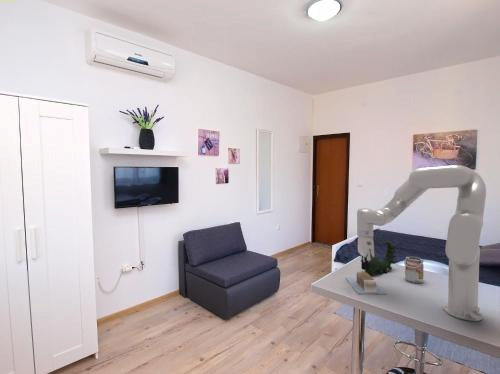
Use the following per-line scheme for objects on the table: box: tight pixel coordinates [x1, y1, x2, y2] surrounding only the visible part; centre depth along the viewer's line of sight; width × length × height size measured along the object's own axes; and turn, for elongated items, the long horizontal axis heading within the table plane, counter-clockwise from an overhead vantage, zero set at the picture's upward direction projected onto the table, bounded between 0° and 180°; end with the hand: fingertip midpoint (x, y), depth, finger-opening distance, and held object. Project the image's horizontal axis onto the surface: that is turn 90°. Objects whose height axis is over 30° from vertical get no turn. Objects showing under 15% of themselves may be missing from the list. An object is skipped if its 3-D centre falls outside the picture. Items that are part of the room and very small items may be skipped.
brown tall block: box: [356, 271, 377, 292], centre depth 135 cm, size 5×5×12 cm
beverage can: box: [403, 256, 424, 284], centre depth 142 cm, size 9×8×12 cm
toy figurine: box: [364, 240, 397, 276], centre depth 155 cm, size 9×19×25 cm
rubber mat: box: [344, 276, 387, 295], centre depth 138 cm, size 20×13×1 cm, turn 178°
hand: (365, 269), depth 136 cm, fingers closed
